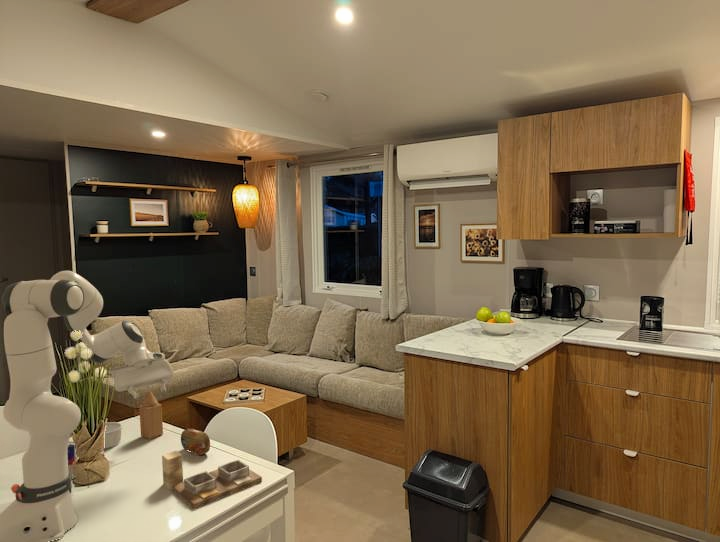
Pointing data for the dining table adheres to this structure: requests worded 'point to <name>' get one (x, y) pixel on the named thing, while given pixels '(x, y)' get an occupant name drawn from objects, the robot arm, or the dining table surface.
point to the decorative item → (151, 417)
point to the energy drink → (71, 457)
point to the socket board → (216, 483)
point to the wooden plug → (172, 469)
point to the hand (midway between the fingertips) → (150, 394)
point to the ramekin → (112, 434)
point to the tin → (195, 441)
